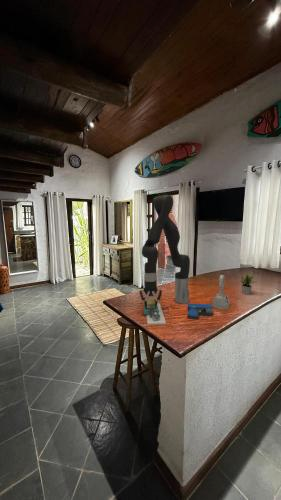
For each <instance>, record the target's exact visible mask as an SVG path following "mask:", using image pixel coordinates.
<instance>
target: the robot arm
mask: <svg viewBox="0 0 281 500" xmlns="http://www.w3.org/2000/svg"><path fill="white" fill-rule="evenodd" d="M173 206H174V198H173V196H171V195H170V194H163V195H157V196H155V197H154V199H153V207H154V210H155V212H156V214H157V216H158V217H157V219H156V220H155V221H154V223H153V224H152V226H151V227H150V230H149V233H148V236H147V239H146V241H145V242H144V245H143V246H142V248H141V255H142V257H143V258H146V259H148V261H145V263H144V264H143V265H144V272H143V273H144V274H143V276H144V277H143V281H144V285H143V286H144V288H143V289H139V294H140V299H141V301H144V305H145V306H146V307H147V298H149V297H153V298H155V307H156V306H157V303H158V301H160V300H161V298H162V292H163V290H162V289H161V288H160V289H158V281H157V280H158V276H157V264H158V259H159V249H158V248H157V247H156V246H155V245H157V244H159V242H160V240H161V236H162V233H163V234H164V237H165V240H166V242H167V246H168V249H169V254H170V259H171V263H172V265H173V266H174V267H175V268H178V269H179V268H180V269H179V271H178V272H175V273H174V302H175V303H178V304H188V303H190V289H189V275H190V270H191V269H190V266H191V259H190V256H189V255H186V254H181V253H180V252H179V247H178V246H179V243H180V239H181V236H180V231H179V228H178V226H177V224H176V223H175V222H174V221H173V220H172V218H171V217H170V213H171V212H172V209H173ZM144 293H145V296H144V295H143V294H144ZM157 293H158V295H156V294H157Z"/></svg>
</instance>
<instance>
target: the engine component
mask: <svg viewBox="0 0 281 500" xmlns="http://www.w3.org/2000/svg"><path fill="white" fill-rule="evenodd" d="M225 279H226V277H225V275H224V274H220V276H219V279H218V281H219V283H218V285H219V293H217V294H215V297H213V300H212V307H213V308H215V309H220V310H227V309H229V308H230V299H229V298H230V297H229V296H228V295H226V294H224V287H225V281H226V280H225Z"/></svg>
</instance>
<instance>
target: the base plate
mask: <svg viewBox="0 0 281 500" xmlns="http://www.w3.org/2000/svg"><path fill="white" fill-rule="evenodd" d="M157 306H158V310H159V315H160V320H158V321H153V320H152V317H151V318H150V317H149V315H145V316H146V322H147V326H155V325H156V326H158V325H166V324H167V323H166V319H165V316H164V312H163V310H162V306H161V304H160V302H157Z"/></svg>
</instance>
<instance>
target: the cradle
mask: <svg viewBox="0 0 281 500" xmlns="http://www.w3.org/2000/svg"><path fill="white" fill-rule="evenodd" d="M149 310H150V309H147V307H146V306H145V304H144V305H143V315H144V316H146V315H149ZM153 310H155V311H156V312H157V313H158V314H159V310H158V306H156V307H155V309H153Z"/></svg>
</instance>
